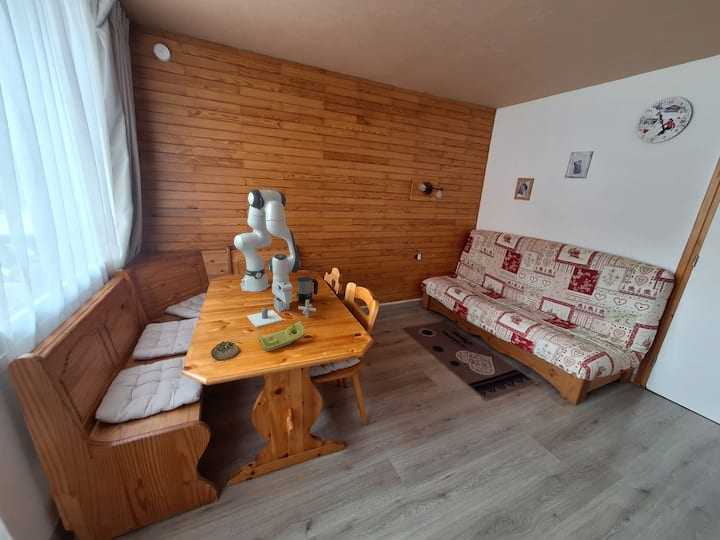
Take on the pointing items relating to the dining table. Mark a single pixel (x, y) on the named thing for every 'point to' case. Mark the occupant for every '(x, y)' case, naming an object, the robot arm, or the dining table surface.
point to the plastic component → (282, 337)
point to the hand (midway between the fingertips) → (281, 305)
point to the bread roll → (224, 350)
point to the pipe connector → (307, 308)
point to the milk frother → (306, 289)
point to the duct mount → (264, 318)
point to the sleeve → (280, 305)
